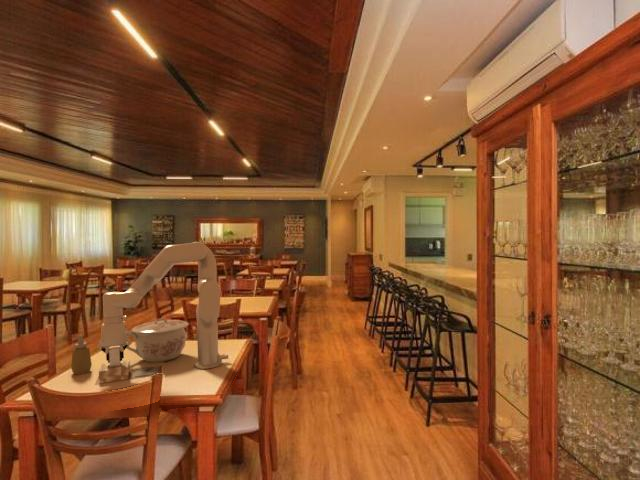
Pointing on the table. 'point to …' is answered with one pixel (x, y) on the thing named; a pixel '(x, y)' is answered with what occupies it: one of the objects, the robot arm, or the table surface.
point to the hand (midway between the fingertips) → (115, 360)
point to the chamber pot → (159, 339)
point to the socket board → (124, 372)
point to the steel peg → (114, 357)
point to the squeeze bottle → (81, 358)
